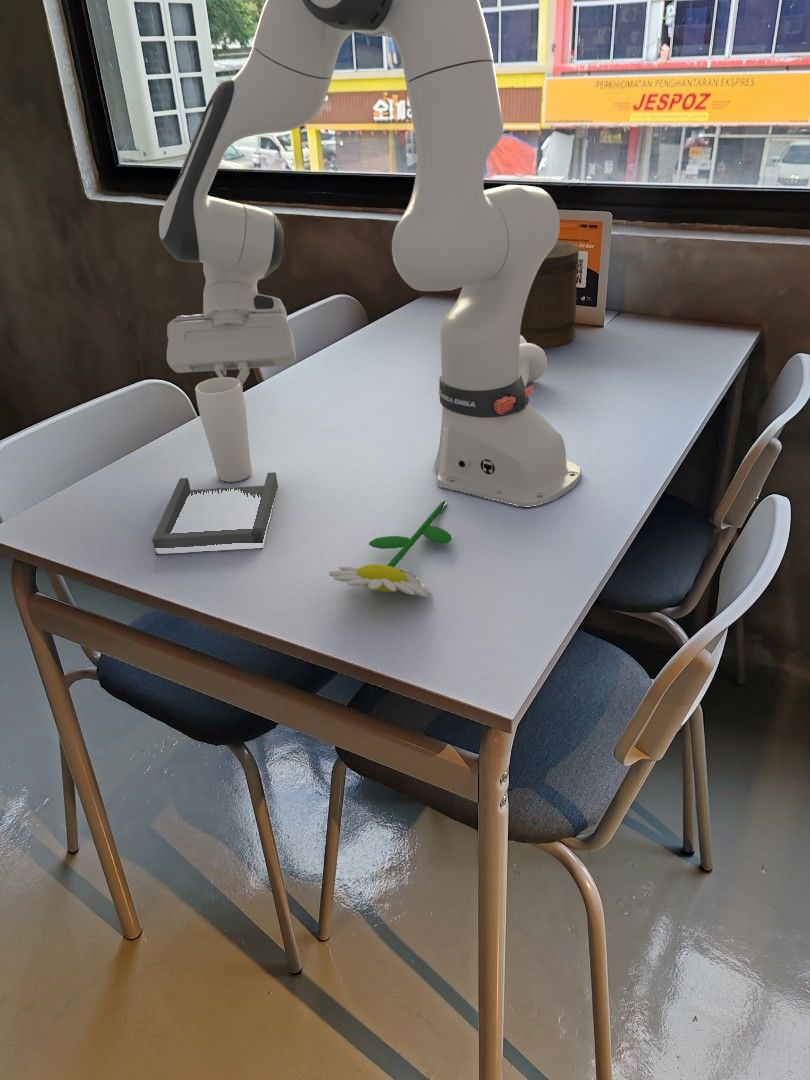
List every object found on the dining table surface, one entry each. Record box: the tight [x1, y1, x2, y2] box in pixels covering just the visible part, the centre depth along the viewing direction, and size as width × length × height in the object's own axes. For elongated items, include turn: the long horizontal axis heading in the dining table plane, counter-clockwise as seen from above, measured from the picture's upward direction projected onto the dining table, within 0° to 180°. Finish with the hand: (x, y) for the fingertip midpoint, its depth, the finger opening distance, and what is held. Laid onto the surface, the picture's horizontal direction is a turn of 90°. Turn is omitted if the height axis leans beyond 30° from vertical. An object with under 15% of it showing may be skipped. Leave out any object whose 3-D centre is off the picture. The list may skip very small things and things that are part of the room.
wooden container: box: [520, 240, 579, 349], centre depth 169 cm, size 15×15×22 cm
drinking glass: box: [194, 376, 253, 483], centre depth 124 cm, size 7×7×15 cm
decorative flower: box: [328, 500, 453, 598], centre depth 104 cm, size 13×5×30 cm
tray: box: [151, 471, 279, 548], centre depth 116 cm, size 17×14×2 cm
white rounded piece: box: [519, 335, 548, 388], centre depth 150 cm, size 11×12×9 cm
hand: (232, 392), depth 130 cm, fingers closed
